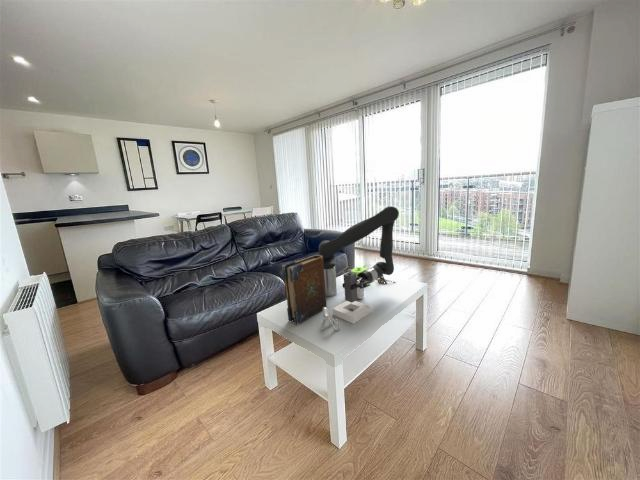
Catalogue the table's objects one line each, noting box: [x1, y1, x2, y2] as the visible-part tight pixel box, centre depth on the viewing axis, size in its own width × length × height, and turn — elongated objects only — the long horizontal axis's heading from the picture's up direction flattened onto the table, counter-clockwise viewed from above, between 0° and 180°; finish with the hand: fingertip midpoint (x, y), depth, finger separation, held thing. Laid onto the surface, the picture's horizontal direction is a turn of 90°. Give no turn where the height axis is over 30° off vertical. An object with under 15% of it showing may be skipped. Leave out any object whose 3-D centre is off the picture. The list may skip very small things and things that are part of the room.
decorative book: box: [281, 254, 328, 326], centre depth 133 cm, size 23×7×30 cm, turn 137°
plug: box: [343, 268, 359, 302], centre depth 130 cm, size 4×4×16 cm
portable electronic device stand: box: [321, 307, 340, 332], centre depth 121 cm, size 9×8×8 cm
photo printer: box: [357, 288, 365, 300], centre depth 152 cm, size 10×4×12 cm, turn 39°
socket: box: [332, 300, 372, 324], centre depth 133 cm, size 14×14×4 cm
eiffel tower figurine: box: [375, 274, 397, 285], centre depth 169 cm, size 15×10×13 cm
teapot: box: [350, 264, 369, 277], centre depth 173 cm, size 15×13×11 cm
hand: (347, 287), depth 128 cm, fingers closed on plug, 4 cm apart
